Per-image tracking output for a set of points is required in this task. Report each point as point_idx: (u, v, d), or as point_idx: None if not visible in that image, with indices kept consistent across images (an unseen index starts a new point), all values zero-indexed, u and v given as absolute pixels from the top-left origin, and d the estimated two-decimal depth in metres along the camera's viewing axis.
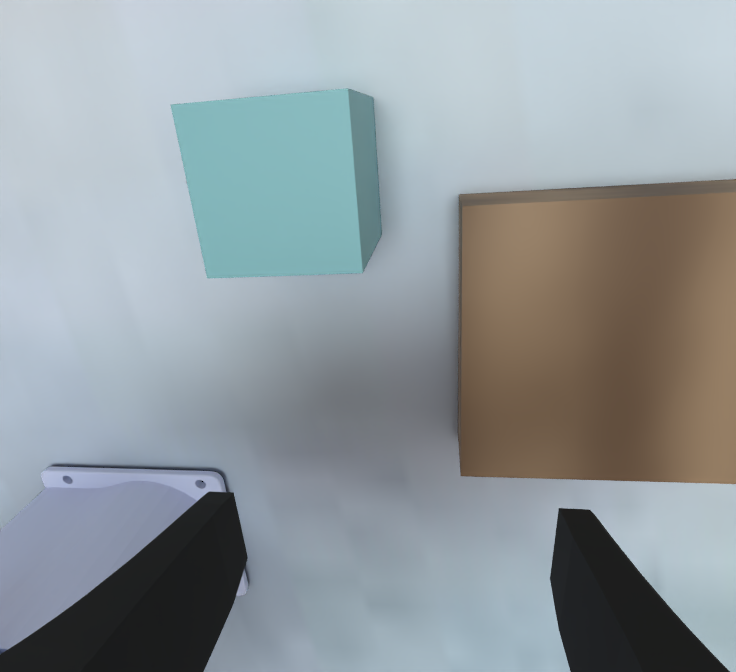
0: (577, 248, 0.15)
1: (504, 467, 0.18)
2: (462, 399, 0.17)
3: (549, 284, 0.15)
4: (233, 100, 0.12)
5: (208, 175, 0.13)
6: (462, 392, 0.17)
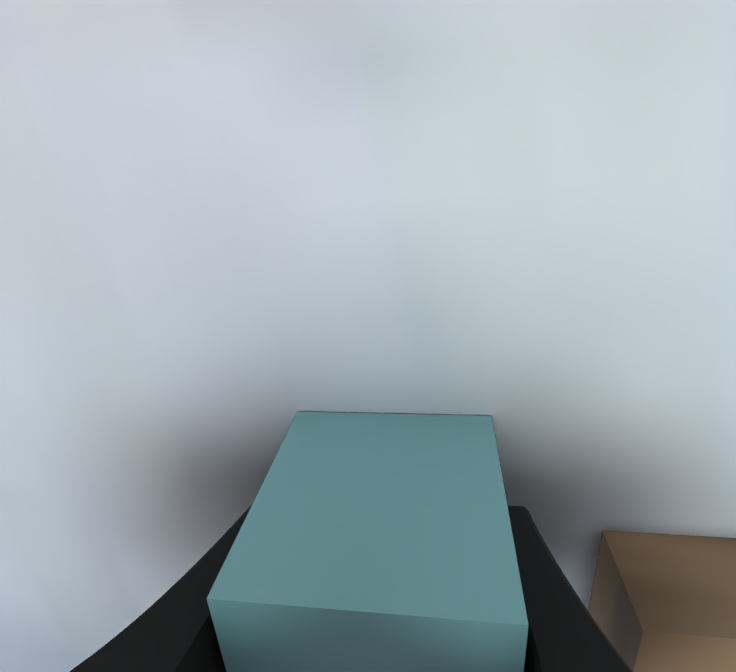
0: None
1: None
2: None
3: None
4: (317, 608, 0.07)
5: None
6: None
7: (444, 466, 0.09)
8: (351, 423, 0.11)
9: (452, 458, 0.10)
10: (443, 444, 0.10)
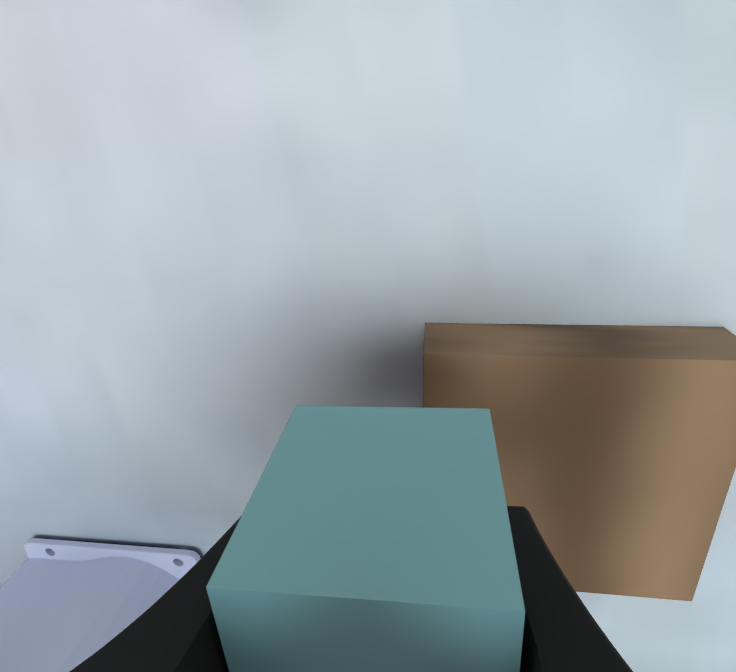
0: (528, 396, 0.16)
1: None
2: None
3: (503, 423, 0.16)
4: (315, 596, 0.07)
5: (264, 667, 0.08)
6: None
7: (443, 458, 0.09)
8: (350, 416, 0.11)
9: (450, 450, 0.10)
10: (441, 436, 0.10)
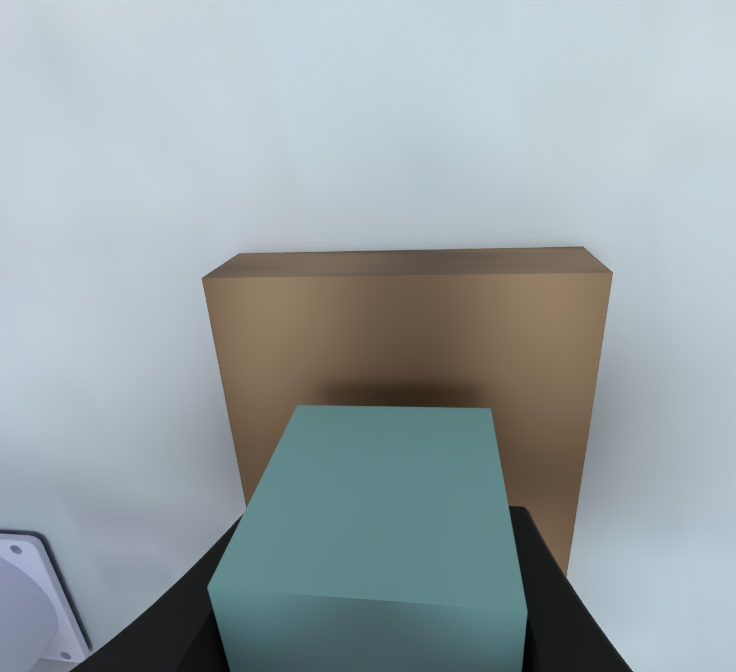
0: (334, 329, 0.13)
1: None
2: (243, 483, 0.15)
3: (311, 365, 0.13)
4: (317, 596, 0.07)
5: (266, 667, 0.08)
6: (241, 476, 0.15)
7: (443, 458, 0.09)
8: (351, 416, 0.11)
9: (451, 449, 0.10)
10: (442, 436, 0.10)
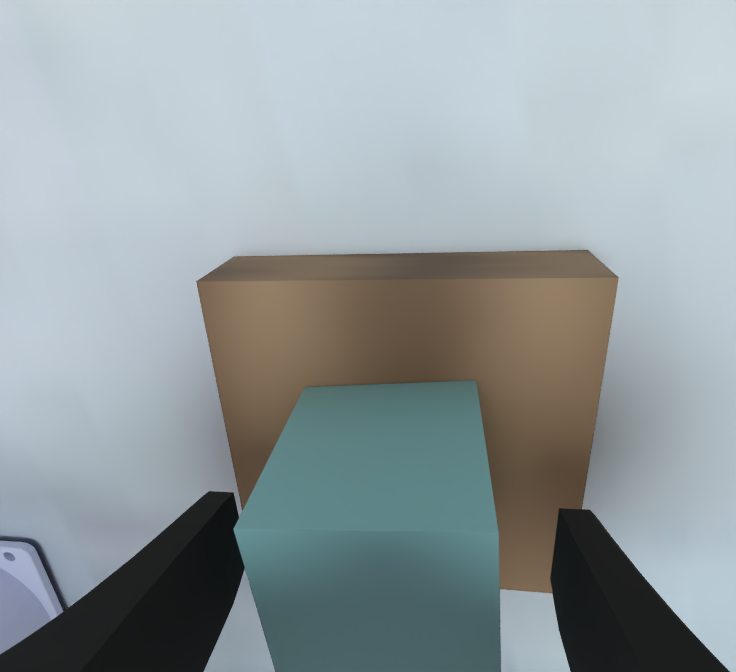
0: (331, 334, 0.12)
1: None
2: (239, 489, 0.15)
3: (308, 371, 0.13)
4: (324, 531, 0.08)
5: (286, 600, 0.09)
6: (238, 482, 0.15)
7: (433, 422, 0.11)
8: (352, 393, 0.12)
9: (440, 415, 0.11)
10: (432, 405, 0.11)
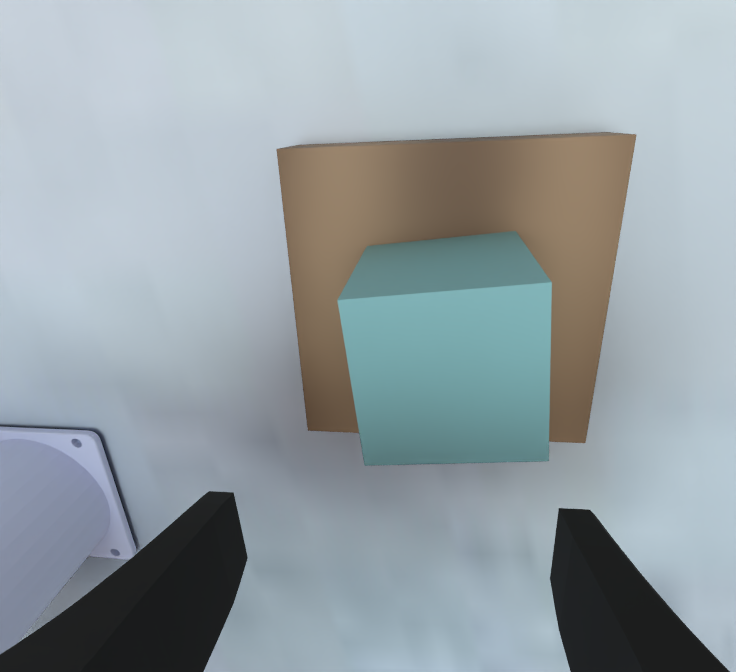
0: (391, 195, 0.15)
1: (348, 422, 0.18)
2: (300, 351, 0.17)
3: (368, 231, 0.15)
4: (412, 295, 0.10)
5: (375, 368, 0.11)
6: (299, 343, 0.17)
7: (484, 249, 0.13)
8: (410, 245, 0.15)
9: (489, 246, 0.13)
10: (481, 243, 0.14)
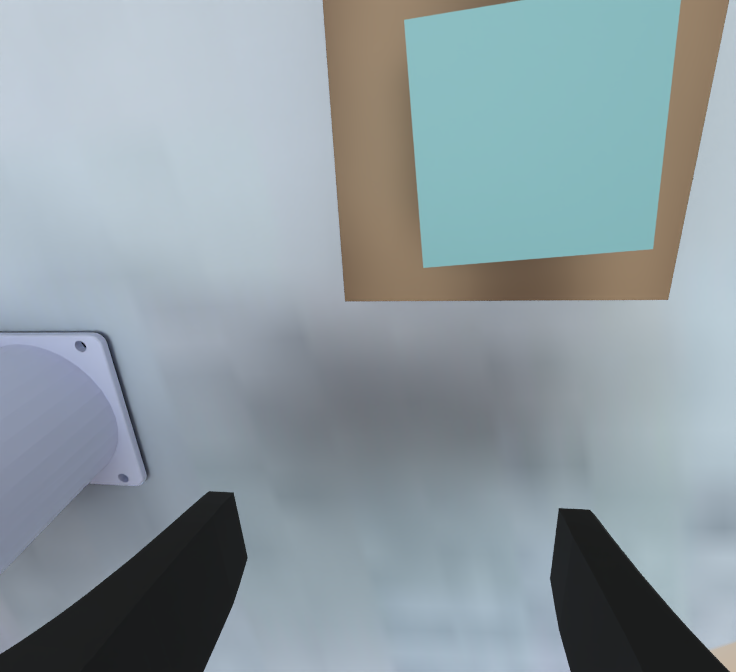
0: None
1: (392, 287, 0.16)
2: (338, 198, 0.15)
3: None
4: (500, 6, 0.08)
5: (446, 121, 0.09)
6: (338, 188, 0.15)
7: None
8: None
9: None
10: None
